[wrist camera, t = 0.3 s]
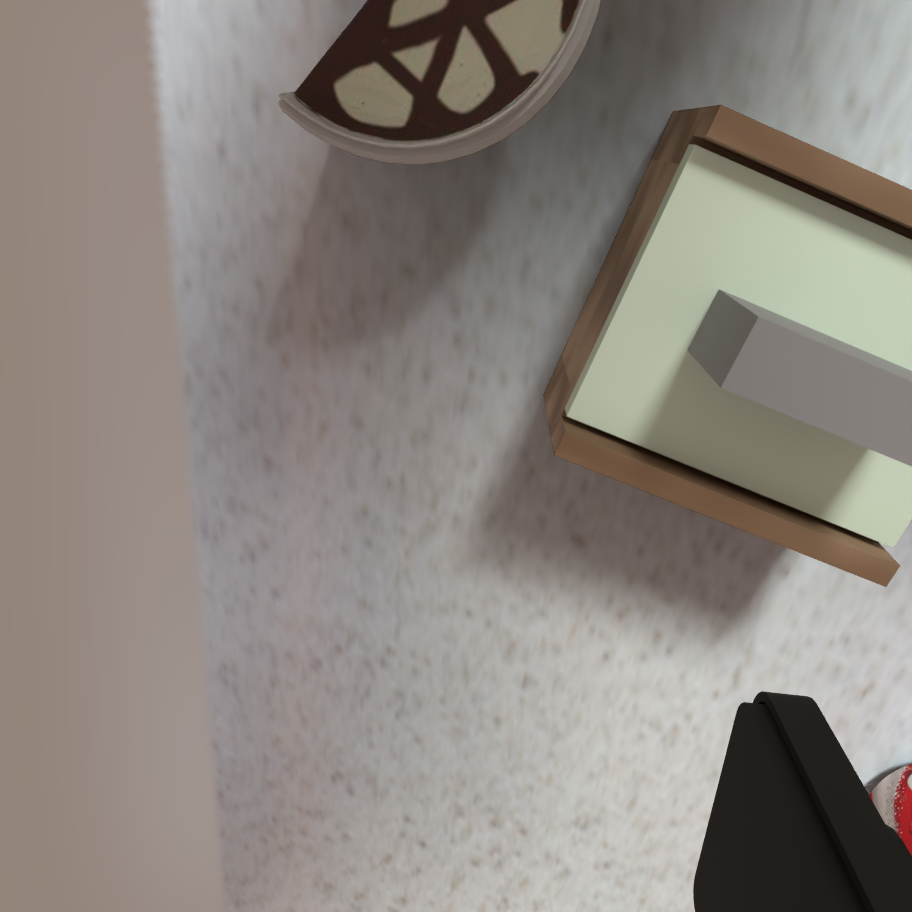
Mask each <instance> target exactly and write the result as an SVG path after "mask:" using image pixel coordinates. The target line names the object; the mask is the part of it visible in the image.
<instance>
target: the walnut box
mask: <svg viewBox="0 0 912 912" xmlns="http://www.w3.org/2000/svg"><path fill="white" fill-rule="evenodd" d="M689 144H693V145H697V146H699V147H702V148H704V149H706V150H709V151H711V152H713V153H715V154H718V155H720V156H722V157H724V158H727V159H729V160H731V161H734V162H736V163H738V164H740V165H743V166H745V167H747V168H749V169H752V170H754V171H756V172H759V173H761V174H763V175H765V176H768V177H770V178H772V179H774V180H777V181H779V182H781V183H784V184H786V185H788V186H790V187H793V188H795V189H797V190H799V191H802V192H804V193H806V194H809V195H811V196H813V197H815V198H818V199H820V200H822V201H825V202H827V203H829V204H831V205H834V206H836V207H838V208H840V209H843V210H845V211H847V212H850V213H852V214H854V215H856V216H859V217H861V218H863V219H865V220H868V221H870V222H872V223H875V224H877V225H879V226H881V227H884V228H886V229H888V230H890V231H893V232H895V233H897V234H900V235H902V236H904V237H906V238H909V239H911V240H912V190H910V189H908V188H906V187H904V186H902V185H899V184H897V183H895V182H893V181H890V180H888V179H886V178H884V177H881V176H879V175H877V174H875V173H872V172H870V171H868V170H866V169H863V168H861V167H859V166H857V165H854V164H852V163H850V162H848V161H845V160H843V159H841V158H839V157H836V156H834V155H832V154H830V153H828V152H825V151H823V150H821V149H819V148H816V147H814V146H812V145H810V144H807V143H805V142H803V141H801V140H798V139H796V138H794V137H792V136H789V135H787V134H785V133H783V132H780V131H778V130H776V129H774V128H771V127H769V126H767V125H765V124H762V123H760V122H758V121H756V120H753V119H751V118H749V117H747V116H745V115H742V114H740V113H738V112H736V111H733V110H731V109H729V108H727V107H724V106H722V105H717V106H709V107H702V108H695V109H688V110H680V111H673V113H672V115H671V117H670V120H669V122H668V124H667V126H666V128H665V131H664V133H663V135H662V137H661V139H660V141H659V144H658V146H657V148H656V150H655V152H654V155H653V157H652V159H651V161H650V163H649V165H648V168H647V170H646V172H645V174H644V176H643V179H642V181H641V183H640V185H639V187H638V189H637V192H636V194H635V196H634V198H633V200H632V203H631V205H630V207H629V209H628V211H627V213H626V216H625V218H624V220H623V222H622V224H621V227H620V229H619V231H618V233H617V235H616V237H615V240H614V242H613V244H612V246H611V248H610V251H609V253H608V255H607V257H606V259H605V261H604V264H603V266H602V268H601V270H600V272H599V275H598V277H597V279H596V281H595V283H594V285H593V288H592V290H591V292H590V294H589V296H588V299H587V301H586V303H585V305H584V307H583V309H582V312H581V314H580V316H579V318H578V320H577V323H576V325H575V327H574V329H573V331H572V333H571V336H570V338H569V340H568V342H567V344H566V347H565V349H564V351H563V353H562V355H561V357H560V360H559V362H558V364H557V366H556V368H555V371H554V373H553V375H552V377H551V379H550V382H549V384H548V386H547V388H546V390H545V392H544V400H545V406H546V412H547V417H548V423H549V429H550V434H551V440H552V446H553V451H554V455H555V456H557V457H560V458H563V459H565V460H568V461H570V462H573V463H575V464H578V465H580V466H583V467H585V468H588V469H590V470H593V471H595V472H598V473H600V474H603V475H605V476H608V477H610V478H613V479H615V480H618V481H620V482H623V483H625V484H628V485H630V486H633V487H636V488H638V489H641V490H643V491H646V492H648V493H651V494H653V495H656V496H658V497H661V498H663V499H666V500H668V501H671V502H673V503H676V504H678V505H681V506H683V507H686V508H688V509H691V510H693V511H696V512H698V513H701V514H703V515H706V516H709V517H711V518H714V519H716V520H719V521H721V522H724V523H726V524H729V525H731V526H734V527H736V528H739V529H741V530H744V531H746V532H749V533H751V534H754V535H756V536H759V537H761V538H764V539H766V540H769V541H771V542H774V543H776V544H779V545H782V546H784V547H787V548H789V549H792V550H794V551H797V552H799V553H802V554H804V555H807V556H809V557H812V558H814V559H817V560H819V561H822V562H824V563H827V564H829V565H832V566H834V567H837V568H839V569H842V570H844V571H847V572H849V573H852V574H855V575H857V576H860V577H862V578H865V579H867V580H870V581H872V582H875V583H877V584H880V585H882V586H885V587H886V586H887V585H888V583H889V582H890V580H891V579H892V577H893V576H894V574H895V573H896V571H897V570H898V568H899V567H900V565H899V564H898V563H897V562H896V561H895V560H894V559H893V558H892V556H891V555H890V554H889V553H888V552H887V551H886V550H885V549H884V548H883V547H882V546H881V545H880V544H879V542H878V541H876V540H873V539H871V538H868V537H866V536H863V535H861V534H858V533H856V532H853V531H851V530H848V529H846V528H843V527H841V526H838V525H836V524H833V523H831V522H828V521H826V520H823V519H821V518H818V517H816V516H813V515H811V514H808V513H806V512H803V511H801V510H799V509H796V508H794V507H791V506H789V505H786V504H784V503H781V502H779V501H776V500H774V499H771V498H769V497H766V496H764V495H761V494H759V493H756V492H754V491H751V490H749V489H746V488H744V487H741V486H739V485H736V484H734V483H731V482H729V481H726V480H724V479H721V478H719V477H716V476H714V475H712V474H709V473H707V472H704V471H702V470H699V469H697V468H694V467H692V466H689V465H687V464H684V463H682V462H679V461H677V460H674V459H672V458H669V457H667V456H664V455H662V454H659V453H657V452H654V451H652V450H649V449H647V448H644V447H642V446H639V445H637V444H634V443H632V442H629V441H627V440H624V439H622V438H620V437H617V436H615V435H612V434H610V433H607V432H605V431H602V430H600V429H597V428H595V427H592V426H590V425H587V424H585V423H582V422H580V421H577V420H575V419H572V418H570V417H567V415H566V411H565V407H566V405H567V403H568V400H569V398H570V396H571V394H572V392H573V390H574V388H575V386H576V383H577V381H578V379H579V377H580V375H581V373H582V371H583V369H584V366H585V364H586V362H587V360H588V358H589V356H590V354H591V352H592V349H593V347H594V345H595V343H596V341H597V339H598V337H599V335H600V332H601V330H602V328H603V326H604V324H605V322H606V320H607V318H608V315H609V313H610V311H611V309H612V307H613V305H614V303H615V301H616V298H617V296H618V294H619V292H620V290H621V288H622V286H623V284H624V281H625V279H626V277H627V275H628V273H629V271H630V269H631V267H632V264H633V262H634V260H635V258H636V256H637V254H638V252H639V250H640V247H641V245H642V243H643V241H644V239H645V237H646V235H647V233H648V230H649V228H650V226H651V224H652V222H653V220H654V218H655V216H656V213H657V211H658V209H659V207H660V205H661V203H662V201H663V199H664V196H665V194H666V192H667V190H668V188H669V186H670V184H671V182H672V179H673V177H674V175H675V173H676V171H677V169H678V167H679V165H680V162H681V160H682V158H683V156H684V154H685V152H686V150H687V148H688V145H689Z"/></svg>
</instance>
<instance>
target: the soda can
mask: <svg viewBox="0 0 912 912" xmlns="http://www.w3.org/2000/svg"><path fill="white" fill-rule="evenodd" d="M869 796H870V798H871V800H872V801H873V803H874V805H875V807H876V808H877V810H878V812H879V814H880V815H881V817H882V819H883V821H884V822H885V824H886V825H888V826H890V827H891V828H893V829H894V830H895V831H896V832H897V834H898V835H899V836H900V838H901V839H902V840H903V842H904V844H905V845H906V847H907V849H908V850H909V852H910V854H911V856H912V764H910V765H907V766H904V767H902V768H900V769H898V770H896V771H894V772H893V773H891V774H889V775H888V776H886V777H885V778H884V779H883V780H882V781H880V782H879V783H878V785H877V786H876V787H875V788H874V789H873V790H872V792H871V794H870V795H869Z"/></svg>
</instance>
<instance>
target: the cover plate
mask: <svg viewBox="0 0 912 912" xmlns="http://www.w3.org/2000/svg"><path fill="white" fill-rule="evenodd" d="M565 411H566V415H567V417H570V418H572V419H575V420H577V421H580V422H582V423H585V424H587V425H590V426H592V427H595V428H597V429H600V430H602V431H605V432H607V433H610V434H612V435H615V436H617V437H620V438H622V439H624V440H627V441H629V442H632V443H634V444H637V445H639V446H642V447H644V448H647V449H649V450H652V451H654V452H657V453H659V454H662V455H664V456H667V457H669V458H672V459H674V460H677V461H679V462H682V463H684V464H687V465H689V466H692V467H694V468H697V469H699V470H702V471H704V472H707V473H709V474H712V475H714V476H716V477H719V478H721V479H724V480H726V481H729V482H731V483H734V484H736V485H739V486H741V487H744V488H746V489H749V490H751V491H754V492H756V493H759V494H761V495H764V496H766V497H769V498H771V499H774V500H776V501H779V502H781V503H784V504H786V505H789V506H791V507H794V508H796V509H799V510H801V511H803V512H806V513H808V514H811V515H813V516H816V517H818V518H821V519H823V520H826V521H828V522H831V523H833V524H836V525H838V526H841V527H843V528H846V529H848V530H851V531H853V532H856V533H858V534H861V535H863V536H866V537H868V538H871V539H873V540H876V541H878V542H881V543H883V544H886V545H888V546H890V547H894V546H895V544H896V543H897V541H898V540H899V538H900V537H901V535H902V534H903V532H904V531H905V529H906V527H907V526H908V524H909V523H910V521H911V520H912V240H911V239H909V238H906V237H904V236H902V235H900V234H897V233H895V232H893V231H890V230H888V229H886V228H884V227H881V226H879V225H877V224H875V223H872V222H870V221H868V220H865V219H863V218H861V217H859V216H856V215H854V214H852V213H850V212H847V211H845V210H843V209H840V208H838V207H836V206H834V205H831V204H829V203H827V202H825V201H822V200H820V199H818V198H815V197H813V196H811V195H809V194H806V193H804V192H802V191H799V190H797V189H795V188H793V187H790V186H788V185H786V184H784V183H781V182H779V181H777V180H774V179H772V178H770V177H768V176H765V175H763V174H761V173H759V172H756V171H754V170H752V169H749V168H747V167H745V166H743V165H740V164H738V163H736V162H734V161H731V160H729V159H727V158H724V157H722V156H720V155H718V154H715V153H713V152H711V151H709V150H706V149H704V148H702V147H699V146H697V145H693V144H689V145H688V148H687V150H686V152H685V154H684V156H683V158H682V160H681V162H680V165H679V167H678V169H677V171H676V173H675V175H674V177H673V179H672V182H671V184H670V186H669V188H668V190H667V192H666V194H665V196H664V199H663V201H662V203H661V205H660V207H659V209H658V211H657V213H656V216H655V218H654V220H653V222H652V224H651V226H650V228H649V230H648V233H647V235H646V237H645V239H644V241H643V243H642V245H641V247H640V250H639V252H638V254H637V256H636V258H635V260H634V262H633V264H632V267H631V269H630V271H629V273H628V275H627V277H626V279H625V281H624V284H623V286H622V288H621V290H620V292H619V294H618V296H617V298H616V301H615V303H614V305H613V307H612V309H611V311H610V313H609V315H608V318H607V320H606V322H605V324H604V326H603V328H602V330H601V332H600V335H599V337H598V339H597V341H596V343H595V345H594V347H593V349H592V352H591V354H590V356H589V358H588V360H587V362H586V364H585V366H584V369H583V371H582V373H581V375H580V377H579V379H578V381H577V383H576V386H575V388H574V390H573V392H572V394H571V396H570V398H569V400H568V403H567V405H566V407H565Z"/></svg>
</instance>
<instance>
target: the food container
mask: <svg viewBox="0 0 912 912" xmlns="http://www.w3.org/2000/svg"><path fill="white" fill-rule="evenodd" d="M600 2H601V0H368V1H367V2H366V3H365V5H364V6H363V7H362V8H361V10H360V11H359V12H358V13H357V15H356V16H355V17H354V19H353V20H352V21H351V22H350V24H349V25H348V26H347V27H346V29H345V30H344V31H343V32H342V34H341V35H340V36H339V37H338V39H337V40H336V41H335V42H334V44H333V45H332V46H331V47H330V49H329V50H328V51H327V52H326V54H325V55H324V56H323V57H322V59H321V60H320V61H319V62H318V64H317V65H316V66H315V68H314V69H313V70H312V71H311V73H310V74H309V75H308V76H307V78H306V79H305V80H304V82H303V83H302V84H301V85H300V87H299V88H298V89H297V91H296V92H289V93H282V94H280V95H279V97H280V98H282V99H281V100H280V102H279V103H278V104H279V105H280V107H281V109H282V111H283V112H284V113H286V114H287V115H288V116H289V117H290V118H292V119H293V120H294V121H295V122H297V123H298V124H299V125H300V126H302V127H303V128H304V129H305V130H307V131H309V132H310V133H312V134H314V135H315V136H317V137H319V138H320V139H322V140H324V141H325V142H327V143H329V144H330V145H332V146H335V147H337V148H340V149H342V150H345V151H347V152H350V153H352V154H355V155H357V156H360V157H364V158H368V159H373V160H377V161H382V162H386V163H399V164H426V163H435V162H444V161H449V160H452V159H456V158H459V157H463V156H466V155H470V154H473V153H476V152H478V151H480V150H482V149H484V148H486V147H488V146H491V145H493V144H495V143H497V142H499V141H501V140H503V139H504V138H506V137H507V136H508V135H510V134H511V133H513V132H514V131H516V130H517V129H519V128H520V127H521V126H523V125H524V124H526V123H527V122H528V121H529V120H530V119H531V118H532V117H533V116H534V115H535V114H536V113H538V112H539V111H540V110H541V109H542V108H543V107H544V106H545V105H546V104H547V103H548V102H549V101H550V100H551V98H552V97H553V96H554V95H555V93H556V92H557V91H558V89H559V88H560V87H561V85H562V84H563V83H564V82H565V80H566V79H567V78H568V76H569V75H570V73H571V71H572V69H573V68H574V66H575V64H576V62H577V61H578V59H579V57H580V55H581V53H582V52H583V50H584V48H585V46H586V43H587V41H588V38H589V36H590V33H591V31H592V28H593V25H594V23H595V20H596V18H597V15H598V11H599V6H600Z"/></svg>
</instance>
